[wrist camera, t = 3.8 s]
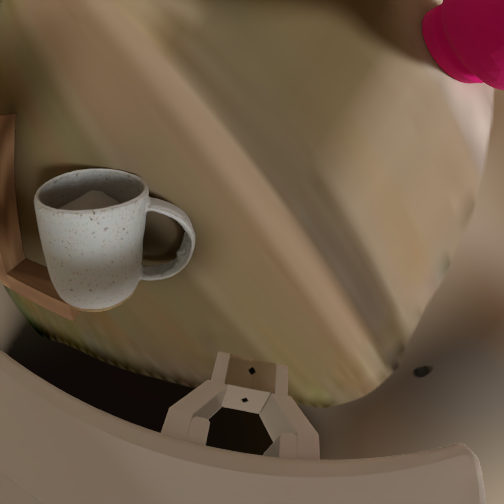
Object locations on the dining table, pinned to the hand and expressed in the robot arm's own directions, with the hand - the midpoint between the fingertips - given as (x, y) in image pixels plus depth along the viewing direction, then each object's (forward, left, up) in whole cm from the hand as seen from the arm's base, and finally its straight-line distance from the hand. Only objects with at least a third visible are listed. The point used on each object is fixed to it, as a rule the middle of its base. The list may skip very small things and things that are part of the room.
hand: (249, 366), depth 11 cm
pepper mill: (-20, +10, -10) cm, 25 cm away
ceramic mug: (0, -10, -10) cm, 15 cm away
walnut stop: (+1, -21, -10) cm, 24 cm away
